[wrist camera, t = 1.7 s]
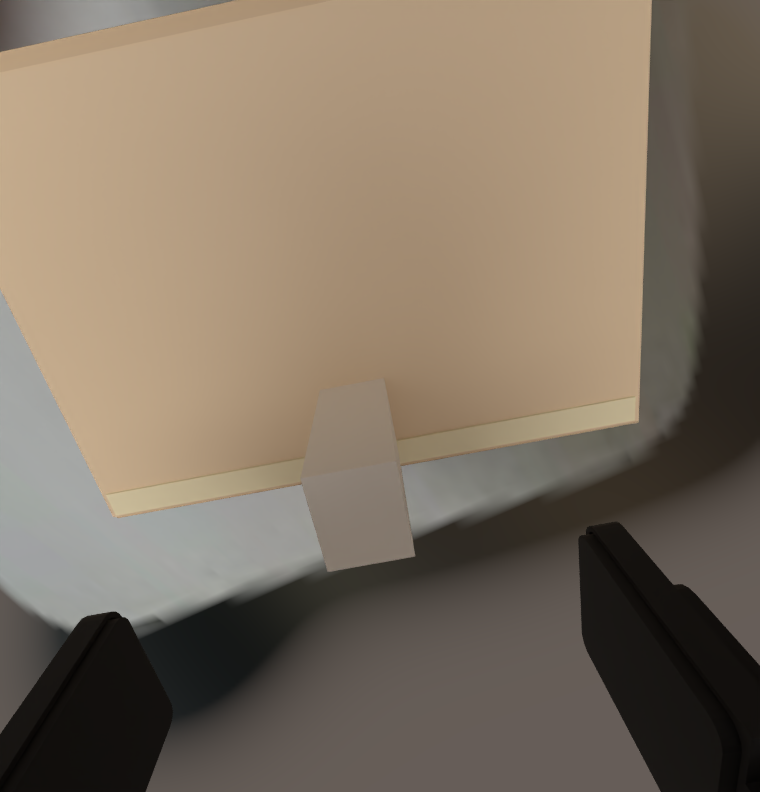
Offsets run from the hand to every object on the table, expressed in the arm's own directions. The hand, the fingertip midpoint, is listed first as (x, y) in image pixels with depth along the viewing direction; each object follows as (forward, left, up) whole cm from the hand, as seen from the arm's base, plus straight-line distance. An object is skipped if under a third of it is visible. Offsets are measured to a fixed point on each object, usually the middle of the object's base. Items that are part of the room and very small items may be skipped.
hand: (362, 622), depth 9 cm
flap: (-6, 0, -9) cm, 11 cm away
